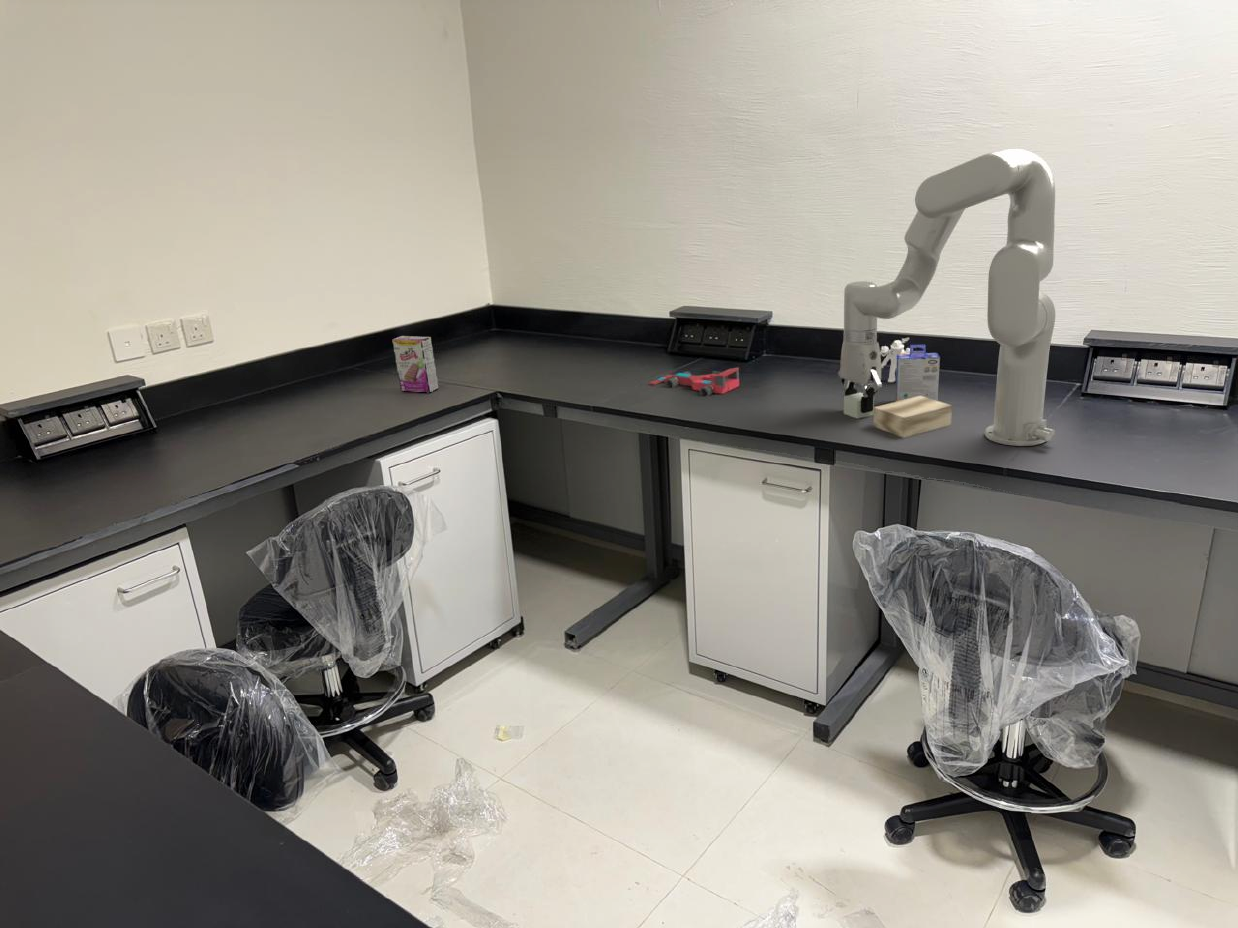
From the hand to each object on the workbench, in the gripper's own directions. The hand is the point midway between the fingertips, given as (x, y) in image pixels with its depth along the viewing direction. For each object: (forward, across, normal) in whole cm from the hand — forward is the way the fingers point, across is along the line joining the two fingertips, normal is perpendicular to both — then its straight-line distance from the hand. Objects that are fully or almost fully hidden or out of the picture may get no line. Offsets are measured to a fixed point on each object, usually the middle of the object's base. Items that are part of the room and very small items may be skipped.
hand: (858, 408), depth 213 cm
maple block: (+2, -14, -4) cm, 15 cm away
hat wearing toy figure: (+2, +16, -25) cm, 30 cm away
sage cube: (+2, 0, 0) cm, 2 cm away
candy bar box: (+2, +97, +87) cm, 130 cm away
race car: (+2, +48, +19) cm, 52 cm away
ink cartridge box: (+2, -2, -16) cm, 16 cm away
